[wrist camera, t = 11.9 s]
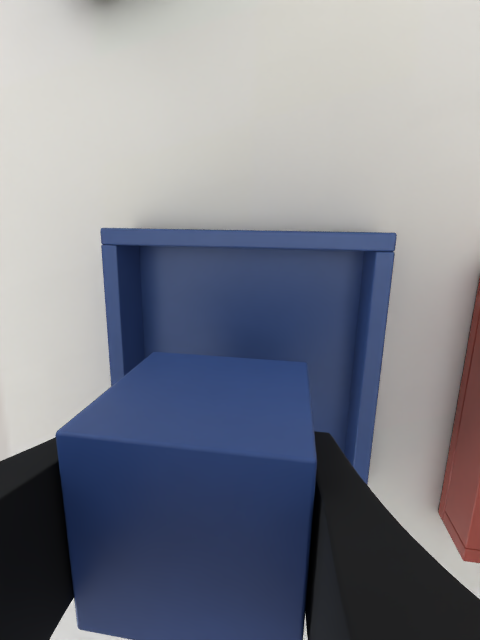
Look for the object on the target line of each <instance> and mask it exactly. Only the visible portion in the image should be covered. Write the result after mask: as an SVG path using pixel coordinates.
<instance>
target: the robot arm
mask: <svg viewBox="0 0 480 640" xmlns="http://www.w3.org/2000/svg"><path fill="white" fill-rule="evenodd" d="M314 435H315V445H316V455H317V470H316V483H315V495H314V508H313V520H312V533H311V545H310V558H309V570H308V582H307V595H306V607H305V614H306V625H307V635H308V640H480V599H479V598H477V597H476V596H475V595H474V594H473V593H472V592H470V591H469V590H468V589H467V588H466V587H465V586H463V585H462V584H461V583H460V582H459V581H458V580H457V579H456V578H455V577H453V576H452V575H451V574H450V573H449V572H448V571H447V570H446V569H445V568H444V567H442V566H441V565H440V564H439V563H438V562H437V561H436V560H435V559H434V558H433V557H432V556H431V555H430V554H429V553H428V552H427V551H426V550H425V549H424V548H423V547H422V546H421V545H420V544H419V543H418V542H417V541H416V540H415V539H414V538H413V537H412V536H411V535H410V534H409V533H408V532H407V531H406V530H405V529H404V528H403V527H402V526H401V525H400V524H399V522H398V521H397V520H396V519H395V518H394V517H393V516H392V515H391V513H390V512H389V511H388V510H387V509H386V508H385V507H384V505H383V504H382V503H381V502H380V501H379V499H378V498H377V497H376V496H375V495H374V493H373V492H372V491H371V490H370V488H369V487H368V486H367V484H366V483H365V482H364V481H363V479H362V478H361V477H360V475H359V474H358V473H357V471H356V470H355V469H354V467H353V466H352V465H351V463H350V462H349V460H348V459H347V458H346V456H345V455H344V453H343V452H342V450H341V449H340V447H339V446H338V444H337V443H336V441H335V440H334V438H333V437H332V436H331V434H330V433H327V432H316V431H314ZM73 598H74V591H73V583H72V574H71V565H70V557H69V548H68V539H67V531H66V522H65V513H64V504H63V496H62V487H61V478H60V470H59V461H58V452H57V444H56V437H55V438H53V439H51V440H49V441H46V442H44V443H42V444H40V445H38V446H35V447H33V448H31V449H28V450H26V451H24V452H21V453H19V454H17V455H14V456H12V457H9V458H7V459H5V460H2V461H0V640H49V639H50V637H51V635H52V634H53V632H54V630H55V628H56V627H57V625H58V623H59V621H60V620H61V618H62V616H63V614H64V613H65V611H66V609H67V608H68V606H69V604H70V603H71V601H72V600H73Z"/></svg>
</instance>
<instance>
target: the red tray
mask: <svg viewBox="0 0 480 640" xmlns="http://www.w3.org/2000/svg"><path fill="white" fill-rule="evenodd" d="M438 513H439V515H440V517H441V519H442V520H443V523H444V525H445V526H446V528H447V530H448V532H449V534H450V536H451V538H452V540H453V542H454V544H455V546H456V548H457V550H458V552H459V553H460V555H461V557H462V559H463V560H464V561H468V562H475V563H480V278H479V284H478V290H477V295H476V301H475V307H474V312H473V318H472V324H471V329H470V335H469V341H468V346H467V352H466V358H465V364H464V369H463V375H462V381H461V386H460V392H459V398H458V403H457V409H456V415H455V420H454V426H453V432H452V437H451V443H450V449H449V454H448V460H447V466H446V472H445V477H444V483H443V489H442V494H441V500H440V506H439V511H438Z"/></svg>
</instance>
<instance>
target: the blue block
mask: <svg viewBox="0 0 480 640" xmlns="http://www.w3.org/2000/svg"><path fill="white" fill-rule="evenodd" d="M56 444H57V452H58V461H59V470H60V478H61V487H62V496H63V504H64V513H65V522H66V531H67V539H68V548H69V557H70V565H71V574H72V583H73V591H74V600H75V609H76V618H77V626H78V628H79V629H80V630H85V631H90V632H95V633H100V634H106V635H111V636H116V637H121V638H127V639H132V640H303V632H304V620H305V607H306V595H307V582H308V570H309V558H310V545H311V533H312V520H313V508H314V495H315V483H316V470H317V455H316V445H315V435H314V424H313V414H312V404H311V394H310V384H309V374H308V365H307V363H305V362H293V361H279V360H264V359H250V358H236V357H221V356H207V355H193V354H178V353H164V352H153V353H152V354H151V355H149V356H148V357H147V358H146V359H144V360H143V361H142V362H141V363H140V364H138V365H137V366H136V367H135V368H134V369H132V370H131V371H130V372H129V373H127V374H126V375H125V376H124V377H123V378H121V379H120V380H119V381H118V382H116V383H115V384H114V385H113V386H112V387H110V388H109V389H108V390H107V391H105V392H104V393H103V394H102V395H101V396H99V397H98V398H97V399H96V400H95V401H93V402H92V403H91V404H90V405H88V406H87V407H86V408H85V409H84V410H82V411H81V412H80V413H79V414H77V415H76V416H75V417H74V418H73V419H71V420H70V421H69V422H68V423H66V424H65V425H64V426H63V427H62V428H60V429H59V430H58V431H57V432H56Z"/></svg>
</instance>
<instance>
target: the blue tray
mask: <svg viewBox="0 0 480 640" xmlns="http://www.w3.org/2000/svg"><path fill="white" fill-rule="evenodd" d="M396 236H397V235H396V233H376V232H316V231H256V230H196V229H136V228H101V243H102V244H103V245H102V246H101V247H102V261H103V275H104V289H105V303H106V317H107V332H108V346H109V360H110V374H111V387H112V386H113V385H114V384H115V383H116V382H118V381H119V380H120V379H121V378H123V377H124V376H125V375H126V374H127V373H129V372H130V371H131V370H132V369H134V368H135V367H136V366H137V365H138V364H140V363H141V362H142V361H143V360H144V359H146V358H147V357H148V356H149V355H151V354H152V353H153V352H164V353H178V354H193V355H207V356H221V357H236V358H250V359H264V360H279V361H293V362H305V363H307V365H308V374H309V384H310V394H311V404H312V414H313V424H314V431H316V432H327V433H330V434H331V436H332V437H333V438H334V440H335V441H336V443H337V444H338V446H339V447H340V449H341V450H342V452H343V453H344V455H345V456H346V458H347V459H348V460H349V462H350V463H351V465H352V466H353V467H354V469H355V470H356V471H357V473H358V474H359V475H360V477H361V478H362V479H363V481H364V482H365V483H366V484H367V483H368V474H369V466H370V457H371V449H372V440H373V432H374V423H375V415H376V406H377V398H378V390H379V381H380V373H381V364H382V356H383V347H384V339H385V330H386V322H387V313H388V305H389V296H390V288H391V279H392V271H393V262H394V252H393V251H394V250H395V245H396Z"/></svg>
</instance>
